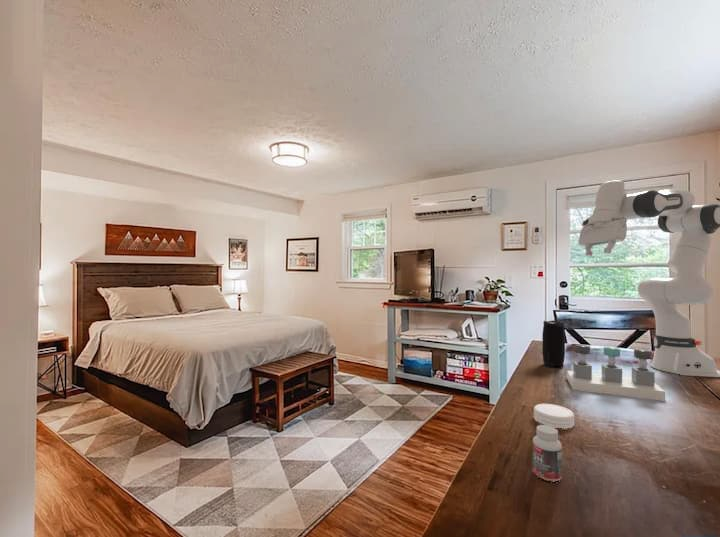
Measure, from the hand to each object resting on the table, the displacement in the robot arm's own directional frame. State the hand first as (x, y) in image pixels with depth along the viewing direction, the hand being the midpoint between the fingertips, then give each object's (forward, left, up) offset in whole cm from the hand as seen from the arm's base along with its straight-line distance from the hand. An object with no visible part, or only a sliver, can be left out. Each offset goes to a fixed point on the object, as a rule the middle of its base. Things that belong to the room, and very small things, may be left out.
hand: (597, 254), depth 136 cm
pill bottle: (+24, +79, -49) cm, 96 cm away
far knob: (+7, +10, -40) cm, 42 cm away
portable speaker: (+14, -15, -49) cm, 53 cm away
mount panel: (-2, +10, -48) cm, 50 cm away
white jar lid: (+20, +49, -49) cm, 72 cm away
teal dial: (-2, +10, -40) cm, 42 cm away
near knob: (-11, +10, -40) cm, 43 cm away
